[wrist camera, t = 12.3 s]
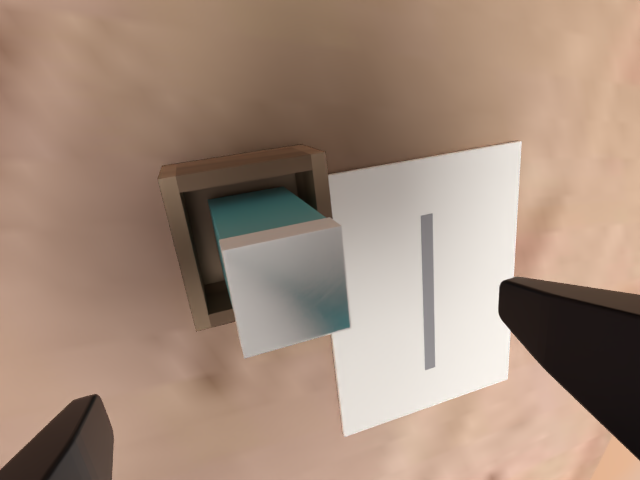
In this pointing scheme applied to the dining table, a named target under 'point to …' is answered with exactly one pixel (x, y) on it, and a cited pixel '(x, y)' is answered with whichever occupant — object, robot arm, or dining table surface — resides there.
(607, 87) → the dining table surface
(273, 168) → the brown square frame
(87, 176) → the dining table surface
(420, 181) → the paper
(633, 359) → the robot arm
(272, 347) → the teal banded box
